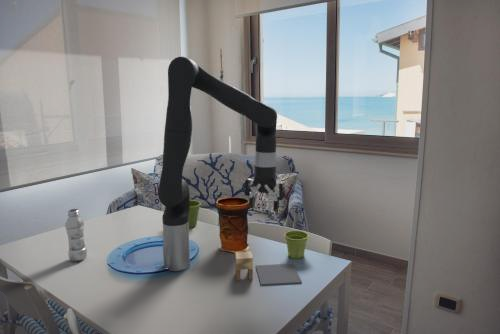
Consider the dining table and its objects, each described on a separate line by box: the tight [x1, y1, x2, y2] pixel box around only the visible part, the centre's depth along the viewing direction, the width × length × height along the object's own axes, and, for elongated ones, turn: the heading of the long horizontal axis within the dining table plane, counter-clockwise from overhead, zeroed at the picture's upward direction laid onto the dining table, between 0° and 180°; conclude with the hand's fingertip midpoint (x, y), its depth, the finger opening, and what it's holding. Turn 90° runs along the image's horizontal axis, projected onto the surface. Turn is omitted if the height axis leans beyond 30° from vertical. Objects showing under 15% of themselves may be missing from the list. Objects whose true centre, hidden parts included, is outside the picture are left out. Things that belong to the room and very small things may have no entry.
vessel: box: [215, 196, 251, 254], centre depth 156 cm, size 14×14×20 cm
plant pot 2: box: [283, 230, 310, 259], centre depth 148 cm, size 9×9×9 cm
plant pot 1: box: [188, 199, 202, 229], centre depth 182 cm, size 12×12×11 cm
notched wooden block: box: [234, 251, 254, 282], centre depth 131 cm, size 6×6×8 cm
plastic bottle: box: [64, 208, 88, 262], centre depth 144 cm, size 6×7×20 cm
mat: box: [255, 263, 303, 286], centre depth 133 cm, size 14×14×1 cm
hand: (264, 209), depth 133 cm, fingers open, 8 cm apart
